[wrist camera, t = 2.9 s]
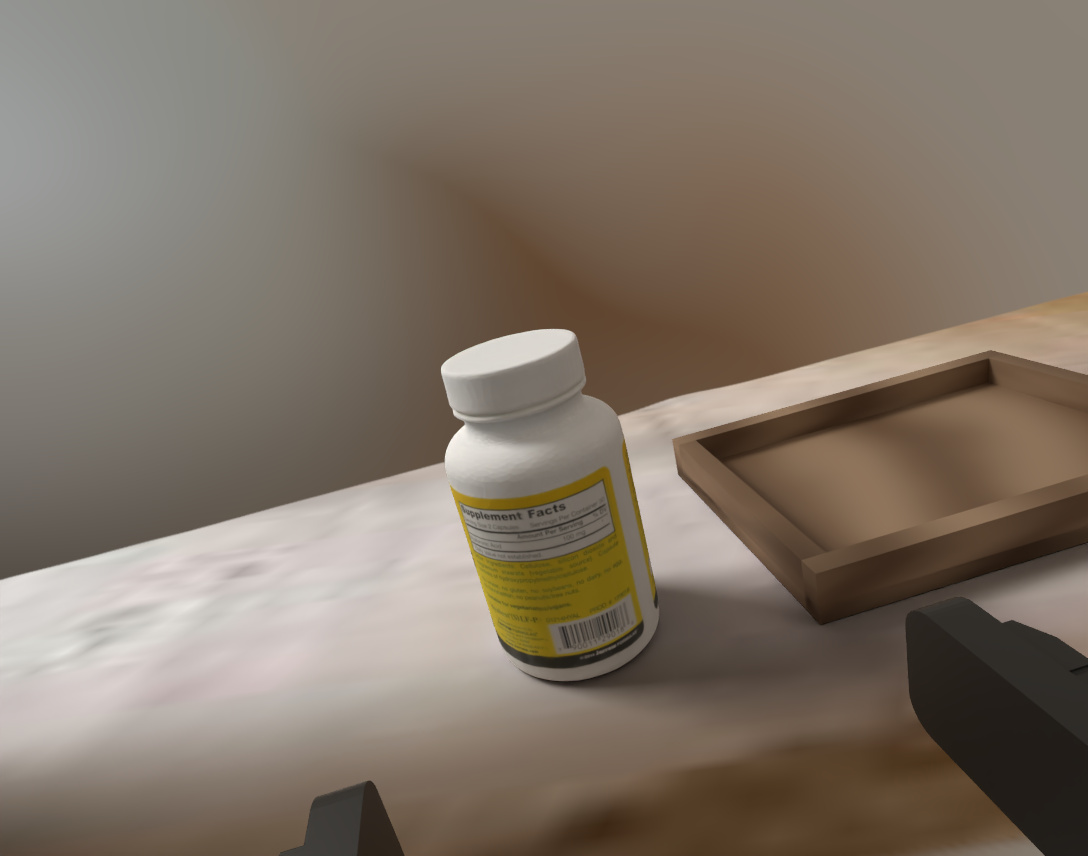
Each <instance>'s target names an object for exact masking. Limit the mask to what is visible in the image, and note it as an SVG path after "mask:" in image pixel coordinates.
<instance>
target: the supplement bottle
mask: <svg viewBox="0 0 1088 856" xmlns="http://www.w3.org/2000/svg"><path fill="white" fill-rule="evenodd" d="M584 372H585V370H584V365H583V361H582V357H581V353H580V349H579V345H578V340H577V337H576V336H575V334H574V333H573V332H571V331H568V330H563V329H543V330H534V331H529V332H524V333H518V334H514V335H509V336H505V337H501V338H497V339H494V340H491V341H488V342H485V343H482V344H479V345H476V346H474V347H471V348H469V349H466V350H464V351H462V352H460V353H458V354H456V355H454V356H453V357H451V358H450V359H448V360H447V361H446V362H445V363H444V364H443V365H442V368H441V374H442V377H443V381H444V384H445V388H446V392H447V395H448V400H449V404H450V406H451V407H452V408H453V414H454V415H455V417H457V418H458V419H460V420H463V421H464V422H465V426H463V427H462V428H461V429H460V430H459V431H458V432H457V433H456V434H455V435H454V437H453V438H452V440H451V441H450V443H449V445H448V448H447V451H446V455H445V468H446V472H447V476H448V480H449V484H450V487H451V490H452V494H453V497H454V500H455V503H456V506H457V509H458V512H459V515H460V519H461V522H462V525H463V528H464V531H465V534H466V537H467V541H468V544H469V547H470V550H471V554H472V557H473V560H474V563H475V566H476V569H477V572H478V576H479V579H480V582H481V585H482V588H483V592H484V595H485V598H486V601H487V604H488V607H489V611H490V614H491V617H492V620H493V624H494V627H495V629H496V632H497V635H498V638H499V641H500V644H501V646H502V649H503V651H504V653H505V655H506V656H507V658H508V659H509V660H510V661H511V662H512V663H513V664H514V665H515V666H516V667H517V668H519V669H520V670H522V671H524V672H525V673H527V674H530V675H532V676H535V677H538V678H542V679H547V680H554V681H576V680H584V679H589V678H592V677H596V676H600V675H603V674H605V673H608V672H611V671H613V670H615V669H617V668H619V667H621V666H622V665H624V664H626V663H627V662H629V661H630V660H632V659H633V658H634V657H635V656H636V655H637V654H639V653H640V652H641V651H642V650H643V649H644V648H645V646H646V645H647V644H648V643H649V641H650V640H651V638H652V637H653V635H654V633H655V631H656V628H657V625H658V620H659V604H658V598H657V592H656V587H655V581H654V576H653V572H652V567H651V563H650V558H649V553H648V548H647V544H646V539H645V534H644V529H643V525H642V520H641V515H640V510H639V506H638V501H637V497H636V491H635V487H634V482H633V478H632V473H631V468H630V463H629V458H628V453H627V449H626V444H625V439H624V435H623V432H622V428H621V424H620V421H619V419H618V417H617V415H616V413H615V412H614V411H613V410H612V409H611V408H610V406H608V405H607V404H606V403H604V402H602V401H601V400H599V399H596V398H594V397H590V396H587V395H582V393H581V389H582V388H583V387H584V385H585V383H586V377H585V375H584Z"/></svg>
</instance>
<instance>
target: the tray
mask: <svg viewBox="0 0 1088 856" xmlns="http://www.w3.org/2000/svg"><path fill="white" fill-rule="evenodd" d="M672 440H673V446H674V452H675V458H676V464H677V470H678V475H679V476H680V477H681V478H682V479H683V480H684V481H685V482H686V483H687V484H688V485H689V486H690V487H691V488H692V489H693V491H694V492H695V493H696V494H697V495H698V496H699V497H700V498H701V499H702V500H703V501H704V502H705V503H706V504H707V505H708V506H709V507H710V508H711V509H712V511H713V512H714V513H715V514H716V515H717V516H718V517H719V518H720V519H721V520H722V521H723V522H724V523H725V524H726V525H727V526H728V527H729V528H730V530H731V531H732V532H733V533H734V534H735V535H736V536H737V537H738V538H739V539H740V540H741V541H742V542H743V543H744V544H745V545H746V546H747V547H748V549H749V550H750V551H751V552H752V553H753V554H754V555H755V556H756V557H757V558H758V559H759V560H760V561H761V562H762V563H763V564H764V565H765V566H766V568H767V569H768V570H769V571H770V572H771V573H772V574H773V575H774V576H775V577H776V578H777V579H778V580H779V581H780V582H781V583H782V584H783V585H784V587H785V588H786V589H787V590H788V591H789V592H790V593H791V594H792V595H793V596H794V597H795V598H796V599H797V600H798V601H799V602H800V603H801V604H802V606H803V607H804V608H805V609H806V610H807V611H808V612H809V613H810V614H811V615H812V616H813V617H814V618H815V619H816V620H817V621H818V622H819V623H820V625H821V624H824V623H828V622H831V621H834V620H837V619H841V618H844V617H847V616H850V615H853V614H857V613H860V612H863V611H866V610H870V609H873V608H876V607H879V606H883V605H886V604H889V603H892V602H895V601H899V600H902V599H905V598H908V597H912V596H915V595H918V594H921V593H924V592H928V591H931V590H934V589H937V588H941V587H944V586H947V585H950V584H954V583H957V582H960V581H963V580H966V579H970V578H973V577H976V576H979V575H983V574H986V573H989V572H992V571H995V570H999V569H1002V568H1005V567H1008V566H1012V565H1015V564H1018V563H1021V562H1025V561H1028V560H1031V559H1034V558H1037V557H1041V556H1044V555H1047V554H1050V553H1054V552H1057V551H1060V550H1063V549H1066V548H1070V547H1073V546H1076V545H1079V544H1083V543H1086V542H1088V375H1085V374H1081V373H1077V372H1073V371H1069V370H1065V369H1061V368H1058V367H1054V366H1050V365H1046V364H1042V363H1038V362H1034V361H1030V360H1026V359H1023V358H1019V357H1015V356H1011V355H1007V354H1003V353H999V352H995V351H991V350H990V351H987V352H983V353H980V354H976V355H972V356H969V357H965V358H962V359H958V360H954V361H951V362H947V363H944V364H940V365H937V366H933V367H929V368H926V369H922V370H919V371H915V372H911V373H908V374H904V375H901V376H897V377H893V378H890V379H886V380H883V381H879V382H876V383H872V384H868V385H865V386H861V387H858V388H854V389H850V390H847V391H843V392H840V393H836V394H833V395H829V396H825V397H822V398H818V399H815V400H811V401H807V402H804V403H800V404H797V405H793V406H789V407H786V408H782V409H779V410H775V411H772V412H768V413H764V414H761V415H757V416H754V417H750V418H746V419H743V420H739V421H736V422H732V423H728V424H725V425H721V426H718V427H714V428H711V429H707V430H703V431H700V432H696V433H693V434H689V435H685V436H682V437H678V438H675V439H672Z"/></svg>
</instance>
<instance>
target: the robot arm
mask: <svg viewBox="0 0 1088 856" xmlns="http://www.w3.org/2000/svg"><path fill="white" fill-rule="evenodd" d="M906 643H907V661H908V679H909V694H910V699H911V702H912V705H913V708H914V710H915V713H916V715H917V717H918V719H919V721H920V722H921V724H922V726H923V727H924V729H925V730H926V731H927V733H928V734H929V735H930V736H931V738H932V739H933V740H934V741H935V742H936V743H937V744H938V745H939V746H940V747H941V748H942V749H943V750H944V751H945V752H946V753H947V754H948V755H949V756H950V757H951V759H952V760H953V761H954V762H955V763H956V764H957V765H958V766H959V767H960V768H961V769H962V770H963V771H964V772H965V773H966V774H967V775H968V776H969V777H970V778H971V779H972V780H973V781H974V782H975V784H976V785H977V786H978V787H979V788H980V789H981V790H982V791H983V792H984V793H985V794H986V795H987V796H988V797H989V798H990V799H991V800H992V801H993V802H994V803H995V804H996V805H997V806H998V807H999V808H1000V810H1001V811H1002V812H1003V813H1004V814H1005V815H1006V816H1007V817H1008V818H1009V819H1010V820H1011V821H1012V822H1013V823H1014V824H1015V825H1016V826H1017V827H1018V828H1019V829H1020V830H1021V831H1022V832H1023V833H1024V835H1025V836H1026V837H1027V838H1028V839H1029V840H1030V841H1031V842H1032V843H1033V844H1034V845H1035V846H1036V847H1037V848H1038V849H1039V850H1040V851H1041V852H1042V853H1043V854H1044V855H1045V856H1088V658H1086V657H1085V656H1084V655H1082V654H1081V653H1079V652H1078V651H1076V650H1075V649H1073V648H1072V647H1070V646H1069V645H1067V644H1066V643H1064V642H1063V641H1061V640H1060V639H1058V638H1057V637H1055V636H1052V635H1049V634H1047V633H1044V632H1042V631H1039V630H1036V629H1034V628H1031V627H1029V626H1026V625H1023V624H1021V623H1018V622H1016V621H1013V620H1011V621H1008V622H1004V623H1001V622H1000V621H998V620H997V619H996V618H994V617H993V616H992V615H990V614H989V613H987V612H986V611H985V610H983V609H982V608H980V607H979V606H978V605H976V604H975V603H973V602H972V601H970V600H968V599H966V598H963V597H955V598H952V599H949V600H946V601H943V602H939V603H936V604H933V605H930V606H927V607H924V608H920V609H917V610H914V611H911V612H910V613H909V614H908V615H907V617H906ZM279 856H404V853H403V851H402V848H401V846H400V844H399V841H398V839H397V836H396V834H395V832H394V829H393V827H392V824H391V822H390V820H389V817H388V815H387V812H386V810H385V807H384V805H383V803H382V800H381V798H380V795H379V793H378V791H377V789H376V787H375V785H374V783H373V782H372V781H366V782H363V783H359V784H356V785H353V786H350V787H347V788H344V789H340V790H337V791H334V792H331V793H328V794H324V795H321V796H318V797H316V798H315V799H314V801H313V803H312V806H311V810H310V815H309V820H308V826H307V831H306V836H305V842H304V845H303V846H300V847H297V848H294V849H291V850H288V851H284V852H281V853H280V855H279Z"/></svg>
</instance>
